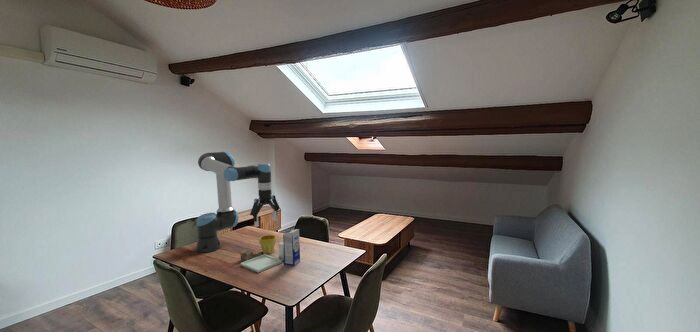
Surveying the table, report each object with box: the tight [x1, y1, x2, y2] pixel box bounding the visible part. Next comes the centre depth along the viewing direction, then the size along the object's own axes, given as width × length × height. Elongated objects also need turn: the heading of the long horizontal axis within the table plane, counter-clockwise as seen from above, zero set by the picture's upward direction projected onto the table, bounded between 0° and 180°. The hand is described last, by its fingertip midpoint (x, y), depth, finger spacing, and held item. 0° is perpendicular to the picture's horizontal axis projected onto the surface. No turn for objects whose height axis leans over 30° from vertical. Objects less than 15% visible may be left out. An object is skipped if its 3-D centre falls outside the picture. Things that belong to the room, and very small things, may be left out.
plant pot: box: [258, 234, 277, 255], centre depth 188 cm, size 10×10×10 cm
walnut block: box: [240, 249, 254, 262], centre depth 177 cm, size 5×5×5 cm
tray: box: [240, 253, 283, 274], centre depth 170 cm, size 17×17×2 cm
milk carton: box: [282, 228, 301, 267], centre depth 169 cm, size 7×7×20 cm
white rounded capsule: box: [277, 241, 284, 261], centre depth 178 cm, size 7×7×9 cm
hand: (265, 223), depth 176 cm, fingers open, 13 cm apart
